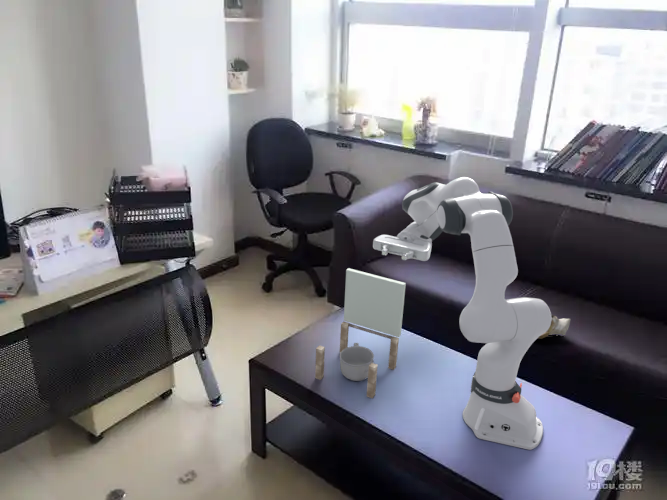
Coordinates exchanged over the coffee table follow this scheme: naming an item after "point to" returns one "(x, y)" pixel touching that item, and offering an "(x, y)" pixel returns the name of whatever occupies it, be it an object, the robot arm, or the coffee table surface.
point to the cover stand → (372, 367)
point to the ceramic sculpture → (557, 326)
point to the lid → (374, 302)
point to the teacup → (356, 362)
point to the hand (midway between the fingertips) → (393, 255)
